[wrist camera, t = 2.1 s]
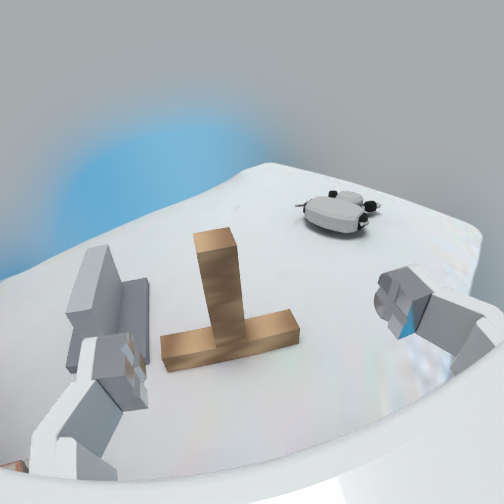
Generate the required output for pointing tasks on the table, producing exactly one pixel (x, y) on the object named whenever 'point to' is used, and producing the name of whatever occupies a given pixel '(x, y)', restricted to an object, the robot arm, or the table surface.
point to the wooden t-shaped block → (225, 313)
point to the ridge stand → (106, 305)
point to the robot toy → (339, 211)
